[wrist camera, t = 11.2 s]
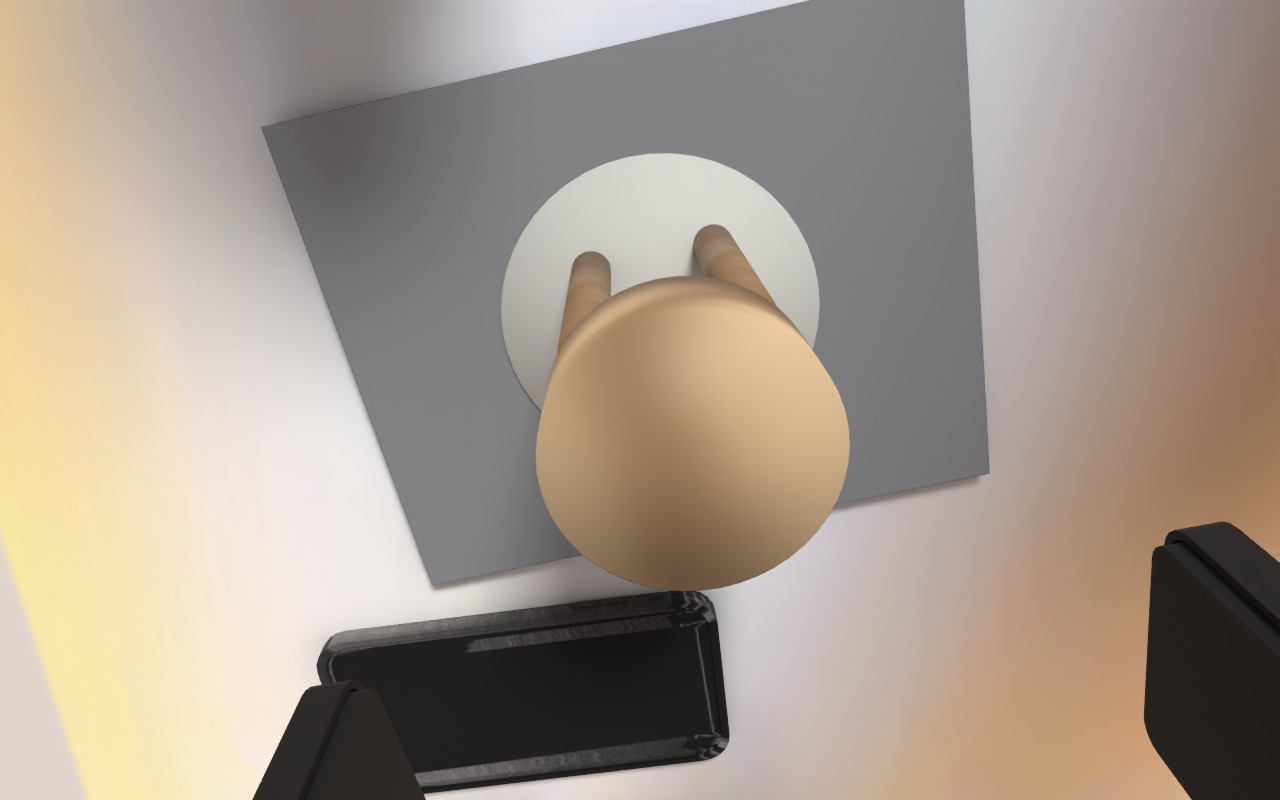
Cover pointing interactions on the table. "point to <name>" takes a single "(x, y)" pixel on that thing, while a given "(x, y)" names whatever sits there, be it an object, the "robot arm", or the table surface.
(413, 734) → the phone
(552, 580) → the table surface
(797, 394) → the stool
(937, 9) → the mat
